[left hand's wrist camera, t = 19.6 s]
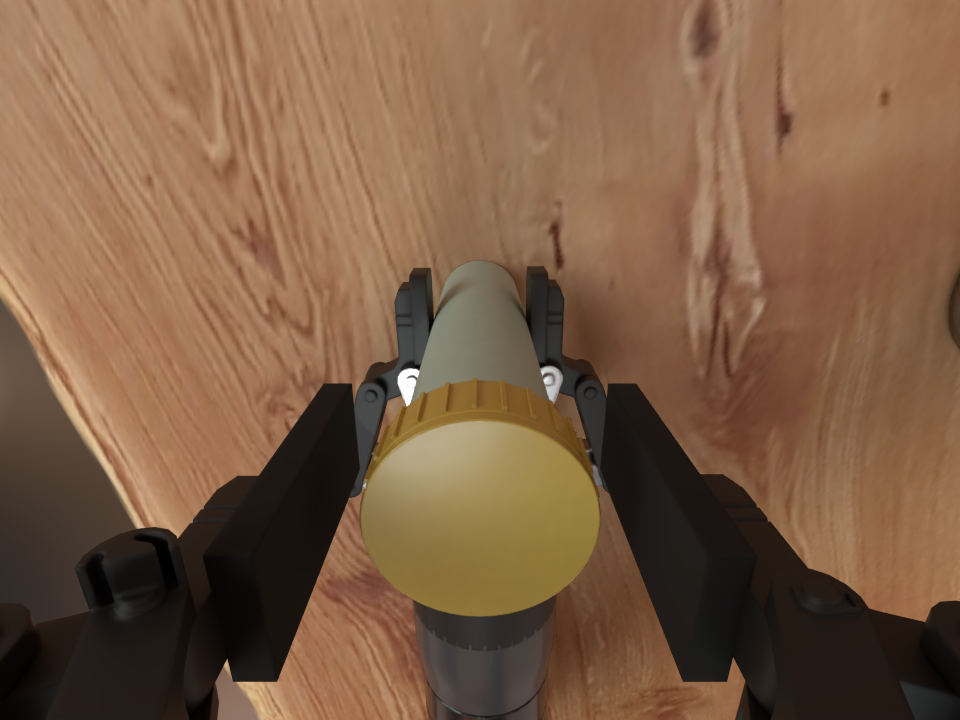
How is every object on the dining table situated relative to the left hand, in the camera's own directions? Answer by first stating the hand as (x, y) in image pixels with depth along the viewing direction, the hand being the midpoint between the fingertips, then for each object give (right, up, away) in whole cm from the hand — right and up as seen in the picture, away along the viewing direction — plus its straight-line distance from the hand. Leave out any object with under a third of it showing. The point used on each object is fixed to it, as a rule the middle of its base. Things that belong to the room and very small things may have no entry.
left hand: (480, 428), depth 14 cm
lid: (0, -1, -4) cm, 4 cm away
